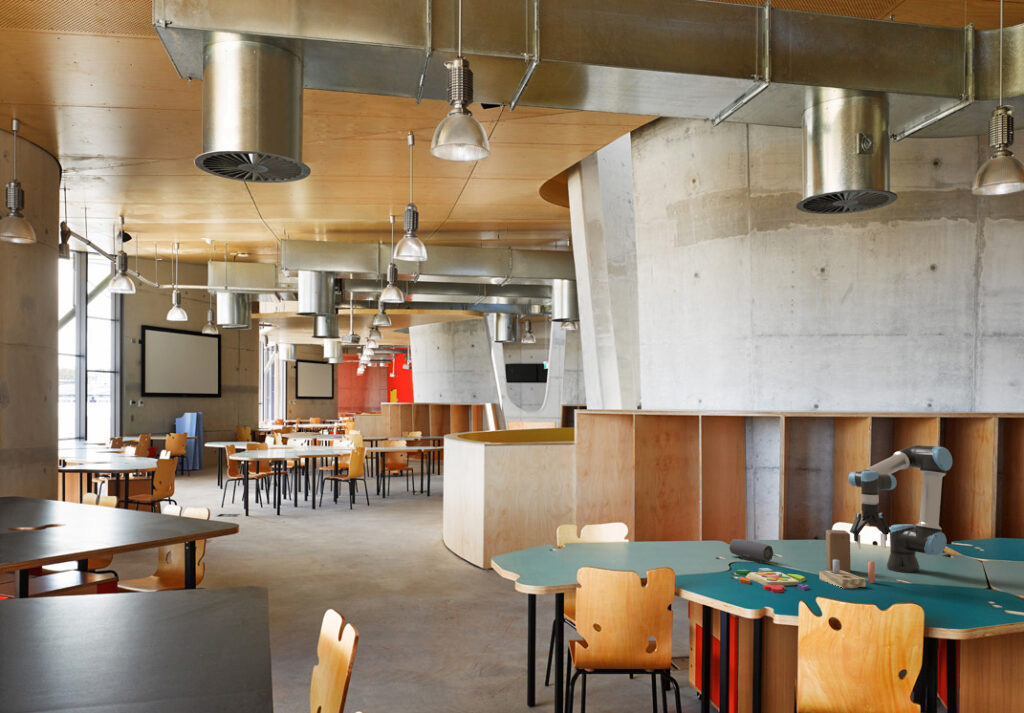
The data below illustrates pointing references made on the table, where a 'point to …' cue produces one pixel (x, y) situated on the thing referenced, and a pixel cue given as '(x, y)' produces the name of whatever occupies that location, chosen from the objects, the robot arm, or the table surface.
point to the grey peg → (836, 567)
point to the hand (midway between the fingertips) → (870, 548)
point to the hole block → (842, 579)
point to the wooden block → (838, 549)
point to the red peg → (871, 572)
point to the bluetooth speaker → (751, 550)
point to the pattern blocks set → (772, 579)
